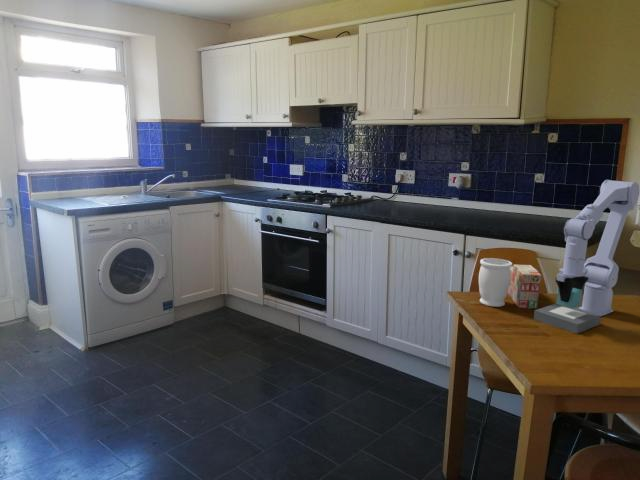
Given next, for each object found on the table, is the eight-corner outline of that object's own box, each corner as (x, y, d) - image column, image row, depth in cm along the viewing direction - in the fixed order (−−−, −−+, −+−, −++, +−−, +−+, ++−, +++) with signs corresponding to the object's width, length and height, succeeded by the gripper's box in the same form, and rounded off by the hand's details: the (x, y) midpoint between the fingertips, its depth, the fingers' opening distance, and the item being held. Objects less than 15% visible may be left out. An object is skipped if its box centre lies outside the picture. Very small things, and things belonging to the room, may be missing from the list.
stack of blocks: (504, 289, 192) (507, 257, 189) (521, 290, 191) (524, 258, 188) (518, 308, 171) (522, 273, 168) (537, 309, 170) (541, 274, 168)
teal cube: (565, 300, 161) (566, 286, 160) (580, 305, 157) (582, 290, 156) (556, 303, 158) (558, 288, 157) (572, 308, 155) (574, 292, 153)
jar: (470, 299, 179) (474, 258, 176) (496, 297, 182) (500, 257, 178) (487, 309, 169) (491, 266, 166) (514, 307, 172) (518, 264, 168)
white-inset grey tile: (557, 310, 169) (558, 302, 168) (600, 324, 158) (601, 314, 157) (533, 319, 161) (534, 310, 160) (576, 333, 150) (578, 324, 149)
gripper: (574, 252, 162) (569, 292, 165) (549, 257, 154) (544, 300, 157) (596, 256, 156) (590, 298, 159) (572, 263, 148) (566, 306, 151)
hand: (569, 299), depth 158 cm, fingers closed on teal cube, 5 cm apart
